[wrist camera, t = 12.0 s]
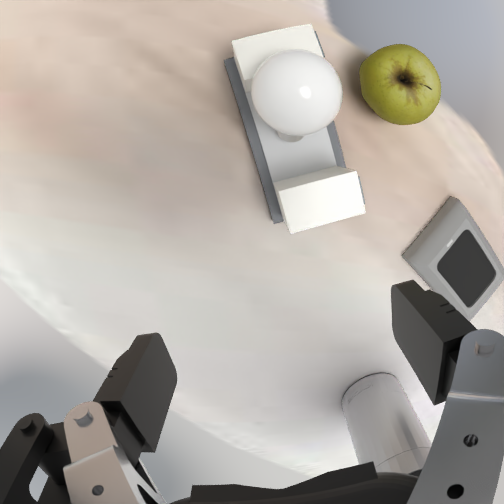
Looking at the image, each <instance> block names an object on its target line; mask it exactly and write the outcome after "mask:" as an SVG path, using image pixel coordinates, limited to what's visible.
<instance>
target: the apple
mask: <svg viewBox="0 0 504 504" xmlns="http://www.w3.org/2000/svg"><path fill="white" fill-rule="evenodd" d="M359 76H360V82H361V92H362V96H363V98H364V100H365V101H366V102H367V103H368V105H369V106H370V107H371V108H372V109H373V110H374V112H375V113H376V114H377V115H378V116H380V117H381V118H382V119H384V120H386V121H388V122H390V123H393V124H397V125H410V124H416V123H419V122H421V121H423V120H425V119H426V118H427V117H428V116H430V115H431V114H432V112H433V111H434V110H435V108H436V106H437V105H438V103H439V100H440V96H441V84H440V79H439V76H438V73H437V71H436V69H435V67H434V66H433V64H432V63H431V62H430V60H429V59H428V58H427V57H426V56H425V55H424V54H423V53H421V52H420V51H419V50H417V49H416V48H413V47H411V46H409V45H405V44H396V45H390V46H387V47H383V48H381V49H379V50H377V51H376V52H374V53H373V54H372V55H370V56H369V57H368V58H367V59H366V60H365V61H364V62H363V63H362V64H361V66H360V70H359Z"/></svg>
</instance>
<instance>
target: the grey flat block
mask: <svg viewBox="0 0 504 504" xmlns="http://www.w3.org/2000/svg"><path fill="white" fill-rule="evenodd" d="M402 257H403V258H404V259H405V260H406V261H407V262H408V263H409V264H410V265H411V267H412V268H413V269H414V270H415V271H416V272H417V273H418V274H419V275H420V276H421V277H422V279H423V280H424V281H425V282H426V283H427V284H428V285H429V286H430V287H431V289H432V290H433V291H434V292H436V293H438V294H441V295H442V296H443V297H444V298H446V299H447V300H448V301H449V302H450V304H452V305H453V306H454V307H455V308H456V310H458V311H459V312H460V313H461V314H462V315H463V316H464V317H465V318H466V319H467V320H468V321H469V322H470V320H471V319H472V318H473V317H474V316H475V315H476V314H477V312H478V311H479V310H480V309H481V308H482V306H483V305H484V304H485V303H486V302H487V300H488V299H489V298H490V297H491V295H492V294H493V293H494V292H495V290H496V289H497V288H498V286H499V285H500V284H501V283H502V281H503V280H504V268H503V266H502V264H501V263H500V261H499V259H498V257H497V256H496V254H495V252H494V251H493V249H492V247H491V246H490V244H489V242H488V241H487V239H486V238H485V236H484V234H483V233H482V231H481V230H480V228H479V227H478V225H477V224H476V222H475V221H474V219H473V218H472V216H471V215H470V213H469V212H468V210H467V209H466V208H465V206H464V205H463V204H462V203H461V202H460V200H459V199H457V198H454V197H451V196H450V198H449V199H448V200H447V202H446V203H445V204H444V205H443V207H442V208H441V209H440V210H439V212H438V213H437V214H436V215H435V217H434V218H433V219H432V220H431V222H430V223H429V224H428V225H427V227H426V228H425V229H424V230H423V231H422V233H421V234H420V235H419V236H418V237H417V239H416V240H415V241H414V242H413V243H412V244H411V246H410V247H409V248H408V249H407V250H406V251H405V253H404V254H403V255H402Z"/></svg>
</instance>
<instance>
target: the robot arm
mask: <svg viewBox="0 0 504 504" xmlns="http://www.w3.org/2000/svg"><path fill="white" fill-rule="evenodd" d="M391 303H392V328H393V333H394V337H395V340H396V342H397V344H398V345H399V347H400V348H401V350H402V352H403V353H404V355H405V357H406V358H407V360H408V362H409V363H410V365H411V367H412V368H413V370H414V372H415V373H416V375H417V377H418V378H419V380H420V382H421V384H422V385H423V387H424V389H425V391H426V392H427V394H428V396H429V398H430V399H431V401H432V403H433V405H437V404H439V403H442V402H444V401H446V403H445V407H444V410H443V413H442V416H441V420H440V423H439V426H438V429H437V432H436V435H435V437H434V440H433V443H432V444H431V442H430V440H429V438H428V436H427V434H426V432H425V430H424V428H423V426H422V424H421V422H420V420H419V418H418V416H417V414H416V412H415V411H414V409H413V407H412V405H411V403H410V401H409V399H408V397H407V395H406V393H405V392H404V390H403V388H402V386H401V384H400V383H399V381H398V379H397V378H396V377H395V376H393V375H391V374H386V373H379V374H373V375H370V376H367V377H365V378H363V379H361V380H359V381H357V382H356V383H354V384H353V385H352V386H351V387H350V388H349V389H348V390H347V391H346V393H345V395H344V396H343V399H342V409H343V412H344V415H345V418H346V422H347V425H348V429H349V432H350V435H351V439H352V442H353V445H354V449H355V452H356V455H357V459H358V462H359V465H356V466H352V467H348V468H344V469H339V470H335V471H330V472H327V473H324V474H322V475H319V476H317V477H314V478H312V479H310V480H307V481H304V482H301V483H299V484H296V485H293V486H290V487H288V488H284V489H268V488H259V487H251V486H243V485H236V484H229V485H193V486H192V491H191V496H190V497H188V498H184V499H181V500H178V501H175V502H173V503H170V504H492V503H493V499H494V495H495V492H496V488H497V484H498V480H499V475H500V471H501V466H502V461H503V456H504V336H503V335H501V334H500V333H498V332H496V331H493V330H488V329H480V330H477V329H476V328H475V327H474V326H473V325H472V324H471V323H470V322H469V321H468V320H467V319H466V318H465V317H464V316H463V315H462V314H461V313H460V312H459V311H458V310H456V308H455V307H454V306H453V305H452V304H450V302H449V301H448V300H447V299H446V298H444V297H443V296H442V295H441V294H438V293H436V292H434V291H431V290H427V291H424V290H423V289H422V288H421V287H420V286H419V285H418V284H417V283H416V282H415V281H414V280H410V281H406V282H402V283H399V284H395V285H392V287H391ZM176 384H177V373H176V369H175V366H174V364H173V362H172V360H171V357H170V355H169V353H168V351H167V348H166V346H165V344H164V341H163V339H162V337H161V335H160V334H159V333H151V334H144V335H138V336H137V337H136V338H135V340H134V341H133V343H132V345H131V347H130V348H129V350H127V351H126V352H125V353H123V354H122V355H121V356H120V357H119V358H118V359H117V360H116V362H115V364H114V365H113V367H112V370H110V372H109V374H108V378H106V379H105V381H104V382H103V384H102V386H101V387H100V389H99V391H98V393H97V394H96V396H95V398H94V400H93V401H92V402H84V403H82V404H79V405H77V406H75V407H74V408H73V409H71V410H70V411H69V412H68V414H67V415H66V417H65V419H64V422H61V423H56V424H51V425H49V424H48V422H47V421H46V420H45V419H44V417H43V416H42V415H41V414H39V413H33V414H29V415H27V416H25V417H23V418H22V419H20V420H19V421H18V422H17V423H16V425H15V426H14V428H13V430H12V431H11V432H10V434H9V436H8V437H7V439H6V441H5V442H4V444H3V445H2V447H1V449H0V504H167V503H166V502H165V500H164V499H163V497H162V495H161V494H160V492H159V490H158V489H157V487H156V485H155V484H154V482H153V480H152V479H151V477H150V475H149V473H148V471H147V470H146V468H145V466H144V465H143V463H142V461H141V460H140V459H139V457H140V454H141V452H155V451H156V447H157V444H158V441H159V438H160V434H161V431H162V428H163V425H164V421H165V418H166V415H167V412H168V409H169V406H170V403H171V400H172V396H173V393H174V390H175V387H176ZM38 466H39V467H40V468H41V469H42V470H43V471H44V472H45V473H46V474H47V475H48V476H49V477H48V479H47V482H46V484H45V486H44V488H43V491H42V493H41V496H40V498H39V500H38V502H37V501H36V500H34V499H33V497H32V496H31V494H30V491H29V484H30V482H31V480H32V478H33V475H34V473H35V471H36V469H37V467H38Z"/></svg>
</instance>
